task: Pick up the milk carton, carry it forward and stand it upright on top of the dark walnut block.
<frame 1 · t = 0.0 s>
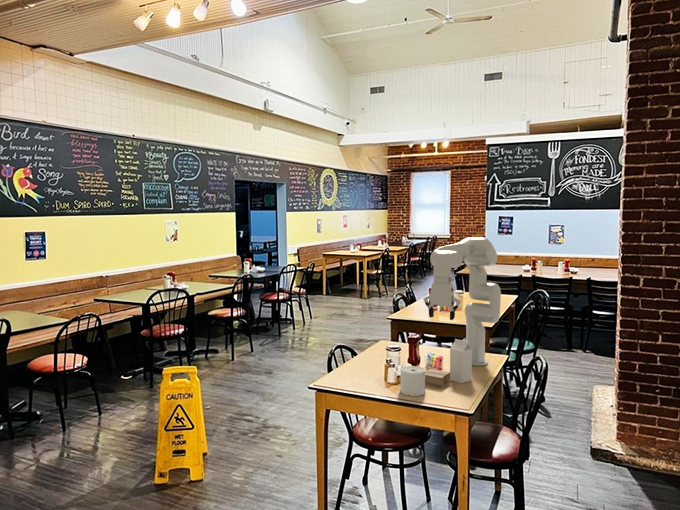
hand: (441, 318, 220), 31 cm above the table, tool pointing down, fingers open, 9 cm apart
walnut block: (435, 383, 228), on the table
milk carton: (460, 380, 232), on the table
toilet tissue: (411, 392, 217), on the table
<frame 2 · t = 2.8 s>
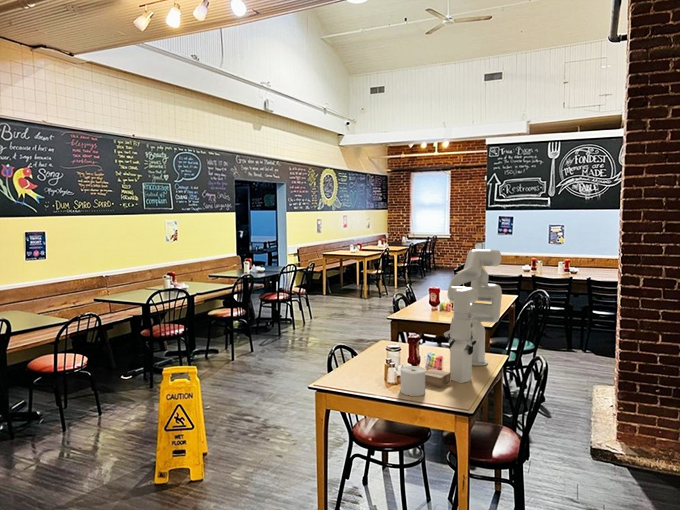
hand: (461, 352, 231), 13 cm above the table, tool pointing down, fingers closed on milk carton, 8 cm apart
milk carton: (460, 380, 232), on the table, touching gripper
everything else where it was.
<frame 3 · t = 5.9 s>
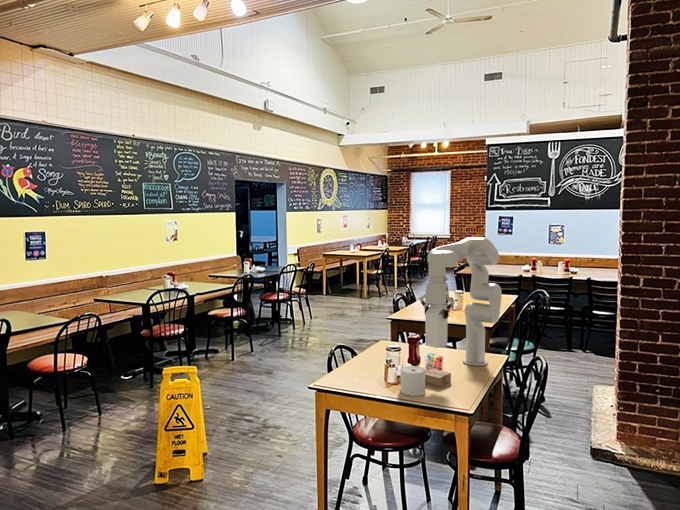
hand: (436, 317, 226), 31 cm above the table, tool pointing down, fingers closed on milk carton, 8 cm apart
milk carton: (436, 345, 227), point 17 cm above the table, touching gripper
everything else where it was.
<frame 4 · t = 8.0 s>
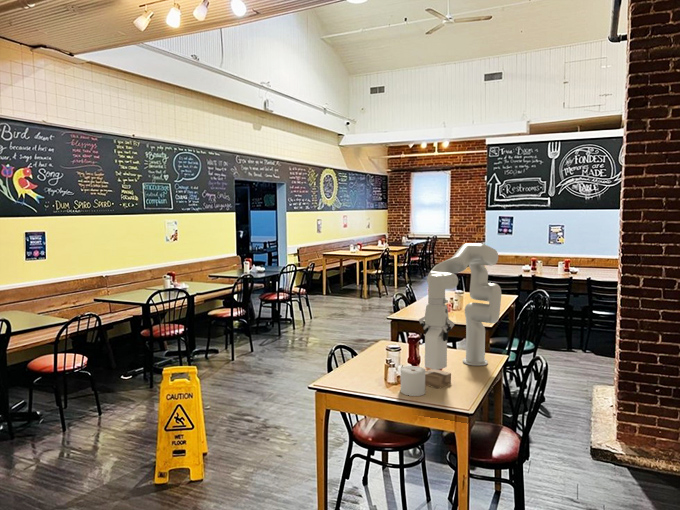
hand: (436, 339, 226), 21 cm above the table, tool pointing down, fingers closed on milk carton, 8 cm apart
milk carton: (435, 367, 227), point 7 cm above the table, touching gripper
everything else where it was.
when the fingers open (19 cm above the table, at t = 9.3 s): milk carton moves 1 cm, resting on walnut block.
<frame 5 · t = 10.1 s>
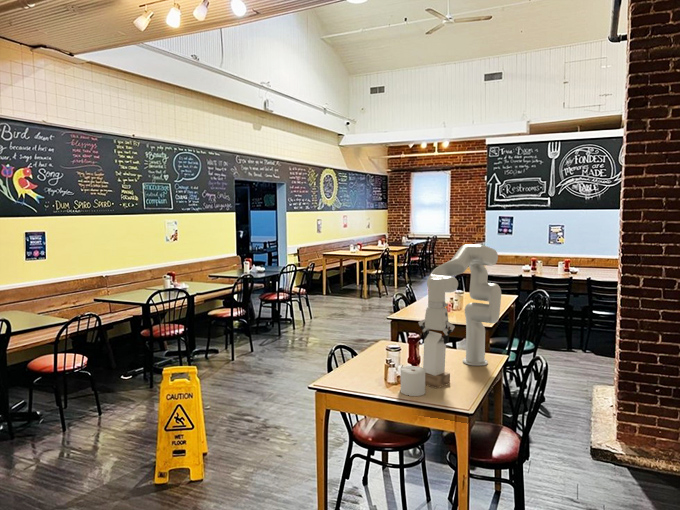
hand: (436, 341, 226), 19 cm above the table, tool pointing down, fingers open, 9 cm apart
walnut block: (434, 383, 228), on the table, touching milk carton
milk carton: (433, 372, 228), point 5 cm above the table, touching gripper, walnut block
everything else where it was.
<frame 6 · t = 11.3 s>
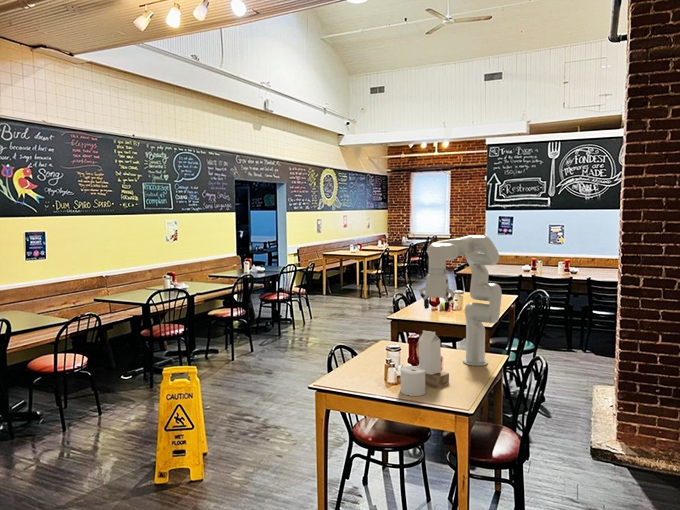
hand: (436, 309, 225), 34 cm above the table, tool pointing down, fingers open, 9 cm apart
milk carton: (430, 372, 229), point 5 cm above the table, touching walnut block
everything else where it was.
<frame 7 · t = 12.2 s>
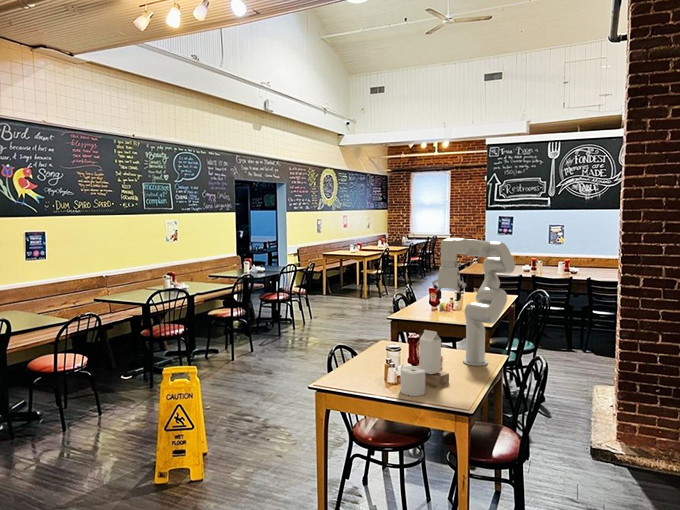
hand: (448, 299, 242), 36 cm above the table, tool pointing down, fingers open, 9 cm apart
walnut block: (433, 383, 228), on the table
milk carton: (429, 372, 228), point 5 cm above the table
everything else where it was.
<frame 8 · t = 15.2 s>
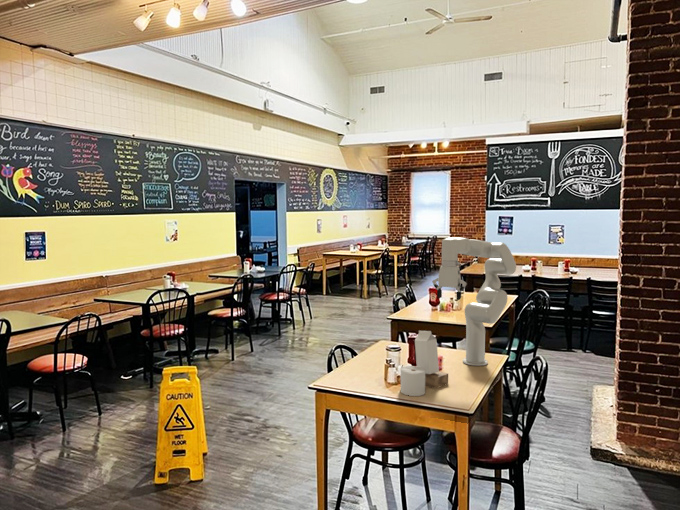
hand: (448, 298, 242), 36 cm above the table, tool pointing down, fingers open, 9 cm apart
milk carton: (428, 373, 227), point 5 cm above the table
everything else where it was.
at the end: milk carton inside the target area on the walnut block (2.3 cm from its centre), point 5.4 cm above the walnut block's base; milk carton tilted 8°; the gripper is holding nothing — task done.
